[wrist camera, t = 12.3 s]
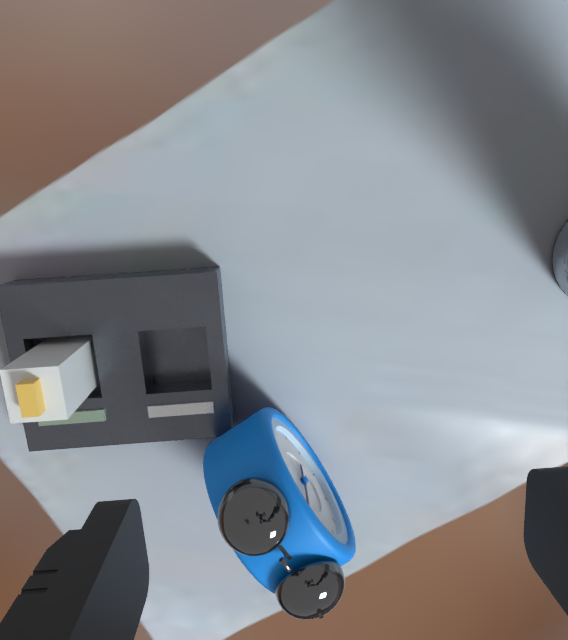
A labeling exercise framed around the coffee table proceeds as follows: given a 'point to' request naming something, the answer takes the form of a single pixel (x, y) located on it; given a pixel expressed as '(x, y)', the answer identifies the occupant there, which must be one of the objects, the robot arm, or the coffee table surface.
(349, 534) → the alarm clock
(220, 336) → the panel
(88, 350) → the plug
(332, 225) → the coffee table surface
